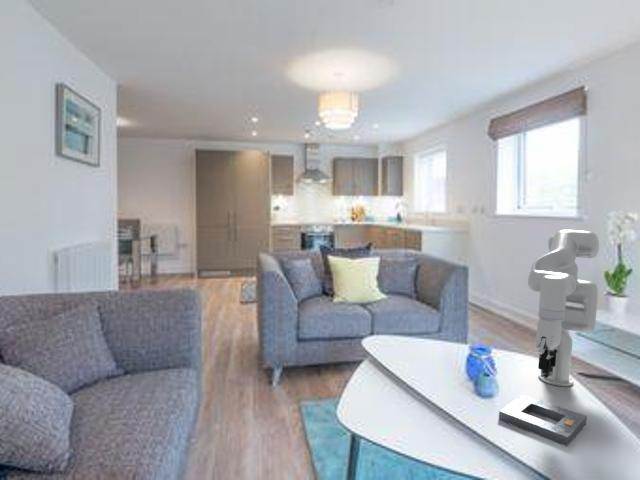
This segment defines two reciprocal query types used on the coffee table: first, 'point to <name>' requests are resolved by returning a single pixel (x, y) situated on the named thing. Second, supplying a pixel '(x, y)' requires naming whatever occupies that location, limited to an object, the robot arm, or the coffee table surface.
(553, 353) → the black knob lever
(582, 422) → the frame
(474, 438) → the coffee table surface
